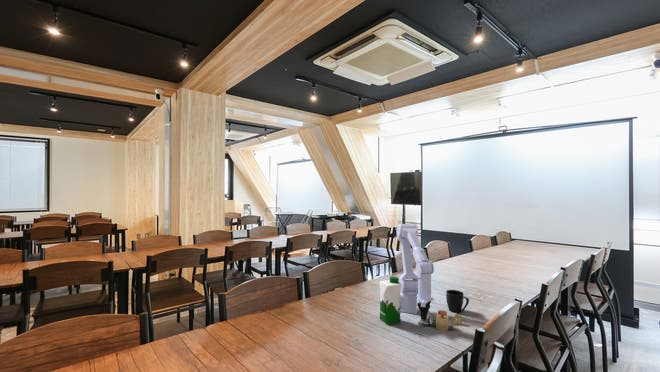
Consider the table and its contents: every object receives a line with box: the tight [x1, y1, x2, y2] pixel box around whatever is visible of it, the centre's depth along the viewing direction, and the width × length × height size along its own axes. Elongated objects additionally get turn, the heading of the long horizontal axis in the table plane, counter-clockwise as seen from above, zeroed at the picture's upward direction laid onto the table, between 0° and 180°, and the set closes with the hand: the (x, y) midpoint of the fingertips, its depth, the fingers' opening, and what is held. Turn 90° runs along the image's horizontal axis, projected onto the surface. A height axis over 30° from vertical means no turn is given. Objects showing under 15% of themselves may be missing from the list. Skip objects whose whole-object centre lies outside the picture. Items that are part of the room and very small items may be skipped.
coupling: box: [419, 309, 431, 325], centre depth 136 cm, size 4×4×5 cm
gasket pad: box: [417, 321, 432, 328], centre depth 136 cm, size 6×6×1 cm
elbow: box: [450, 313, 463, 326], centre depth 137 cm, size 4×2×4 cm, turn 88°
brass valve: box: [430, 309, 454, 331], centre depth 133 cm, size 9×5×7 cm, turn 68°
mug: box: [445, 289, 470, 314], centre depth 151 cm, size 8×12×10 cm
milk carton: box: [379, 276, 402, 326], centre depth 139 cm, size 9×9×20 cm
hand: (424, 317), depth 136 cm, fingers closed on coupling, 4 cm apart
